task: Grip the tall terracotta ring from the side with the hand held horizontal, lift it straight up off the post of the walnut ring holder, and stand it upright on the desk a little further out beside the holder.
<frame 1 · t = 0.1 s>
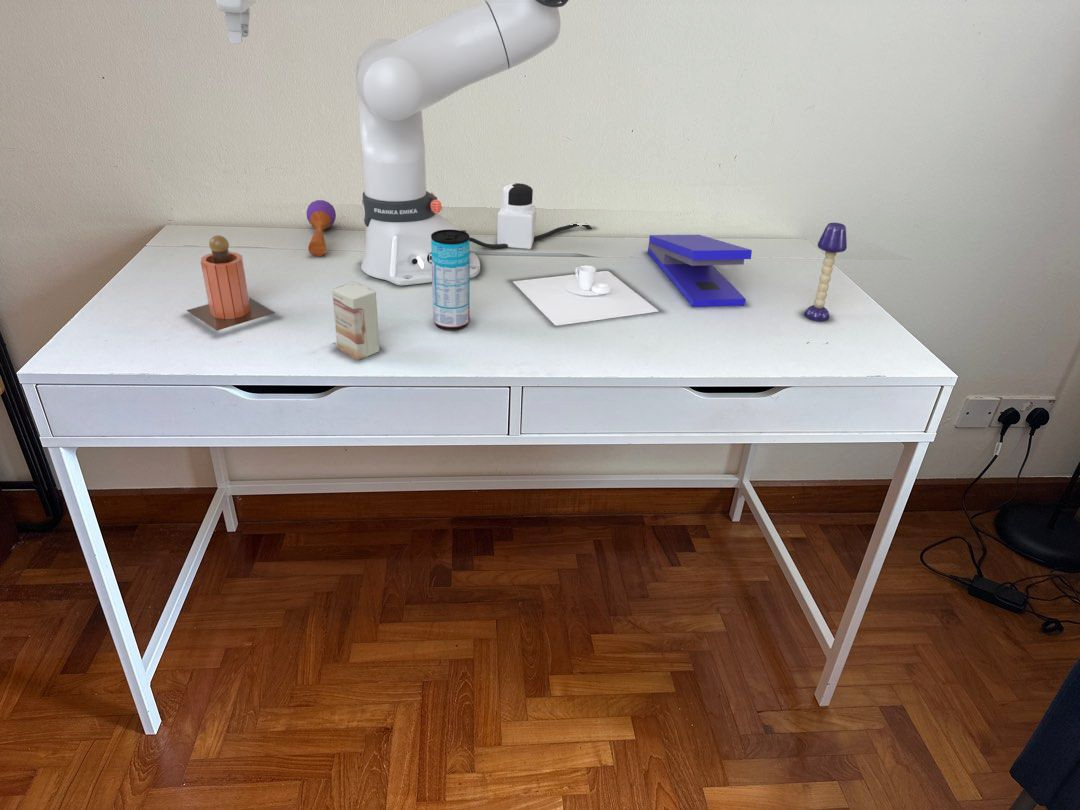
hand: (239, 39, 120), 39 cm above the table, tool pointing down, fingers open, 8 cm apart
medicine bottle: (516, 243, 160), on the table
kendama: (320, 240, 156), on the table
toy lamp: (814, 317, 134), on the table
ring holder: (232, 317, 123), on the table
teacup and saucer: (583, 297, 137), on the table
white product box: (358, 352, 115), on the table
beverage can: (451, 324, 125), on the table
stapler: (692, 277, 148), on the table
ring: (231, 311, 122), point 1 cm above the table, touching ring holder
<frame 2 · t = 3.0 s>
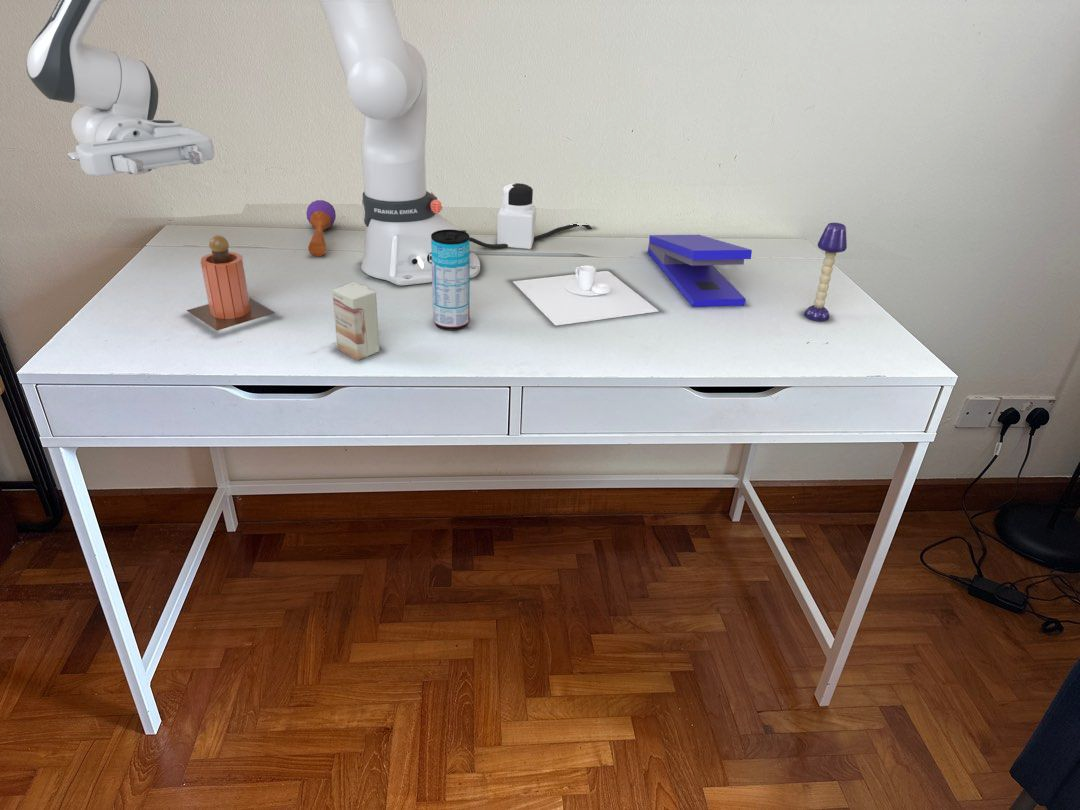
hand: (169, 163, 118), 22 cm above the table, tool horizontal, fingers open, 8 cm apart
nothing on the table moved.
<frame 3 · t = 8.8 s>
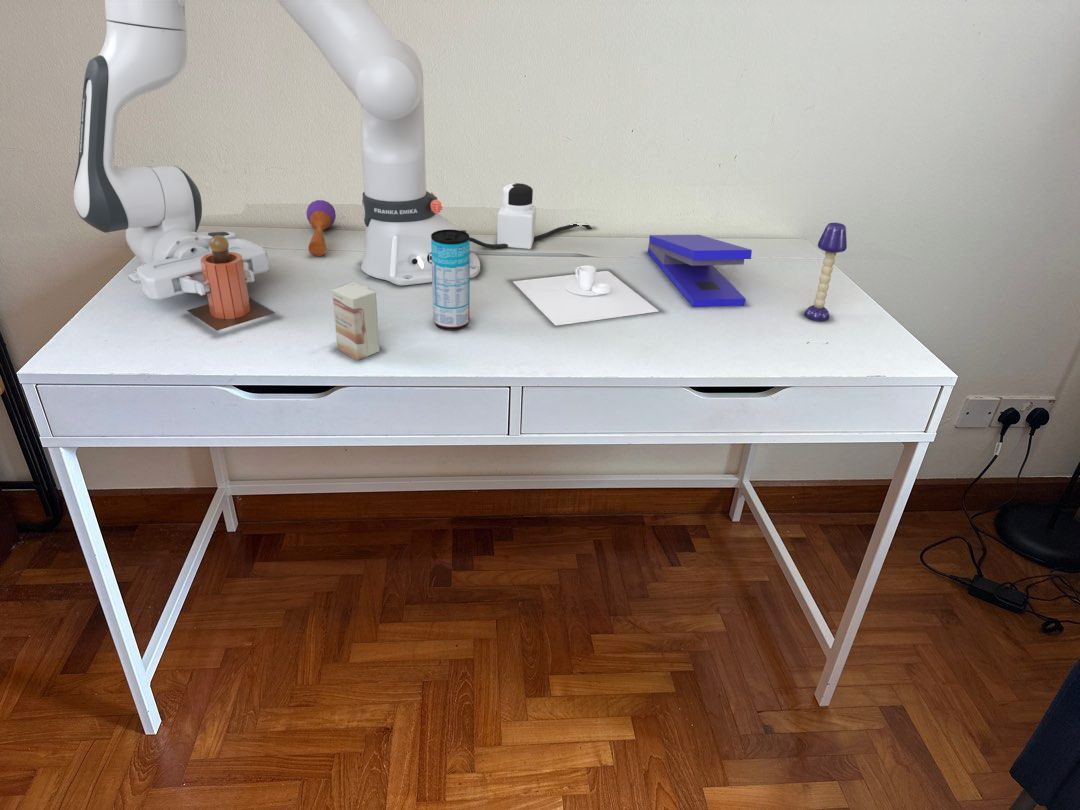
hand: (228, 283, 119), 6 cm above the table, tool horizontal, fingers closed on ring, 6 cm apart
ring: (230, 311, 122), point 1 cm above the table, touching gripper, ring holder
everything else where it was.
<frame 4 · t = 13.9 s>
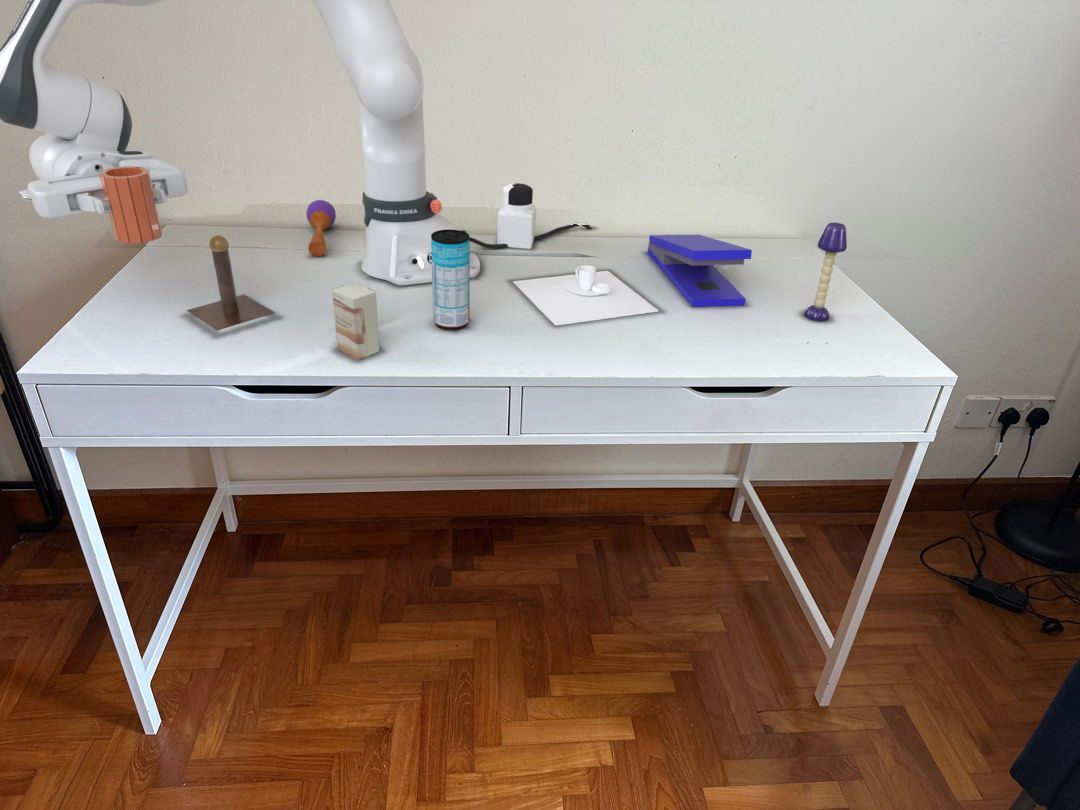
hand: (134, 202, 104), 21 cm above the table, tool horizontal, fingers closed on ring, 6 cm apart
ring: (139, 236, 107), point 16 cm above the table, touching gripper
everything else where it was.
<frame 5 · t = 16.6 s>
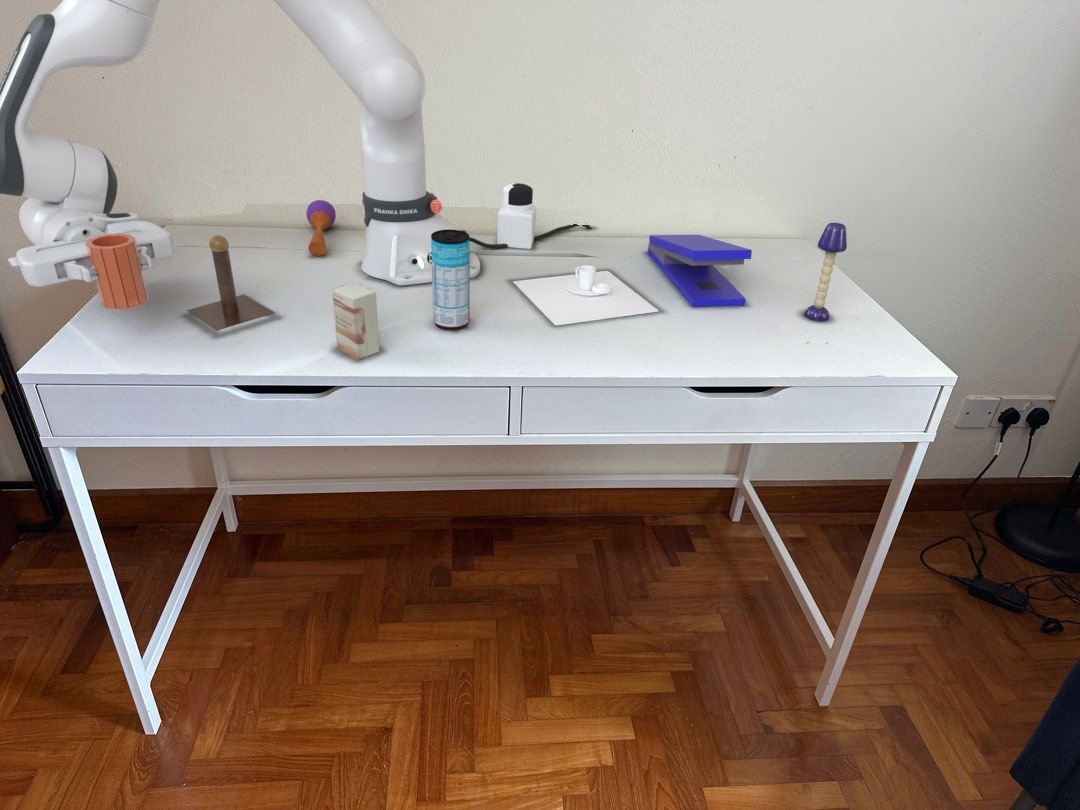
hand: (120, 269, 106), 12 cm above the table, tool horizontal, fingers closed on ring, 6 cm apart
ring: (125, 300, 109), point 7 cm above the table, touching gripper
everything else where it was.
when the fingers open (5 cm above the table, at t = 19.1 s): ring stays where it is, on the table.
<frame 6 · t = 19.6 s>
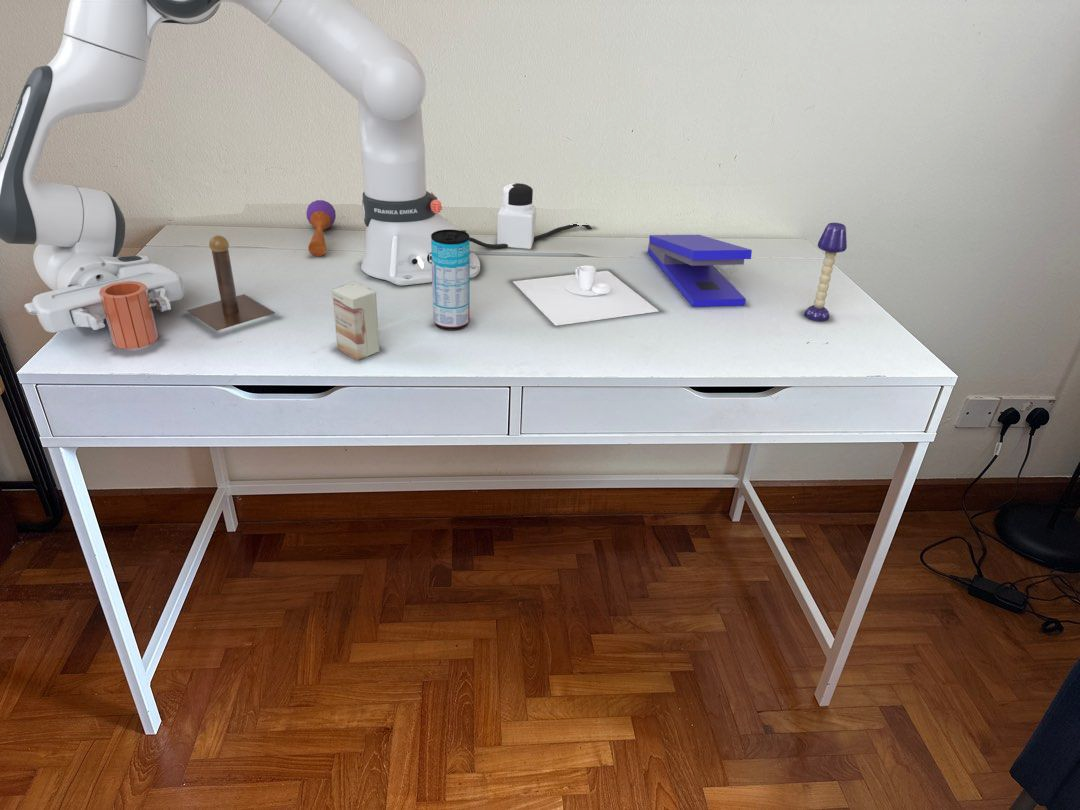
hand: (133, 314, 110), 5 cm above the table, tool horizontal, fingers open, 8 cm apart
ring: (137, 345, 113), on the table
everything else where it was.
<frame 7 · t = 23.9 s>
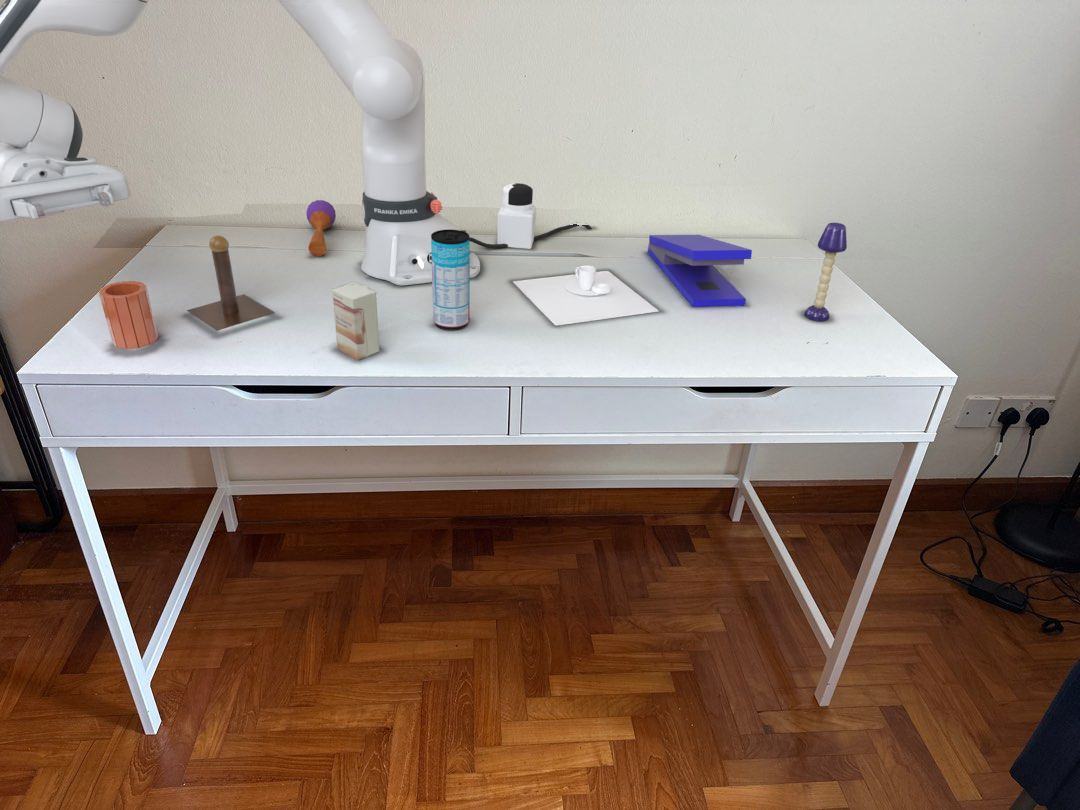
hand: (74, 206, 110), 18 cm above the table, tool horizontal, fingers open, 8 cm apart
nothing on the table moved.
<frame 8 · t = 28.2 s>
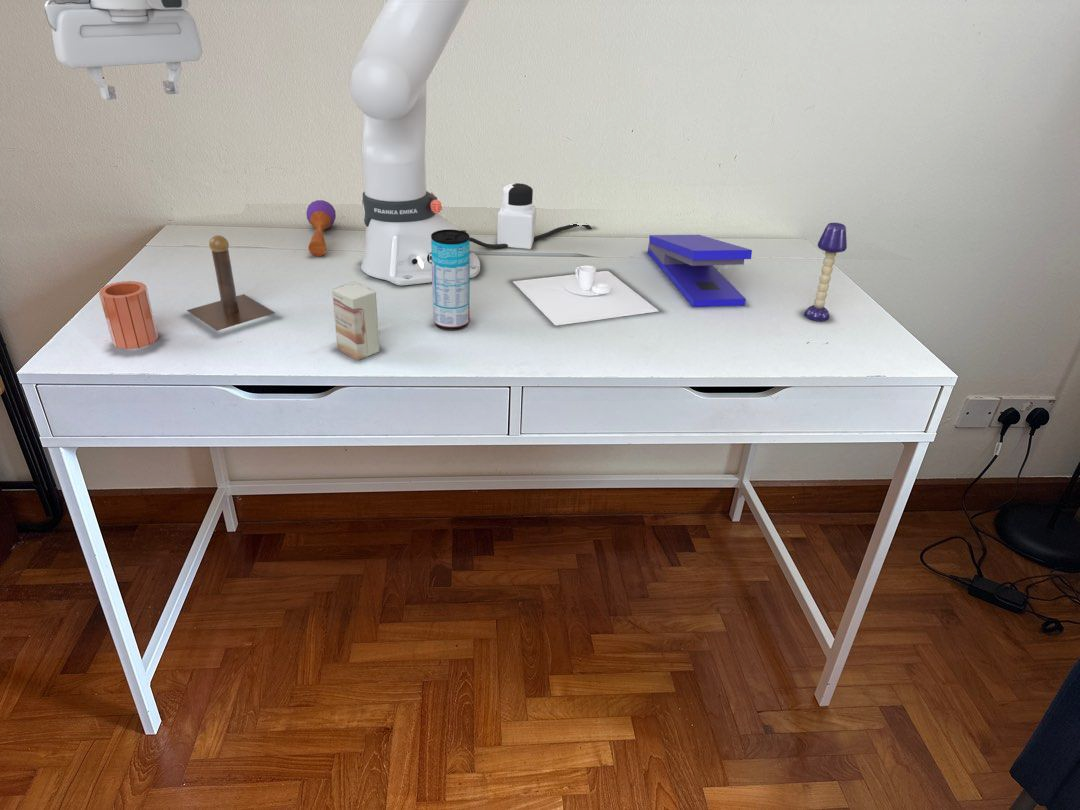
hand: (141, 96, 116), 31 cm above the table, tool pointing down, fingers open, 8 cm apart
nothing on the table moved.
at the end: ring inside the target area (0.1 cm from its centre), on the table; ring tilted 0°; the gripper is holding nothing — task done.
